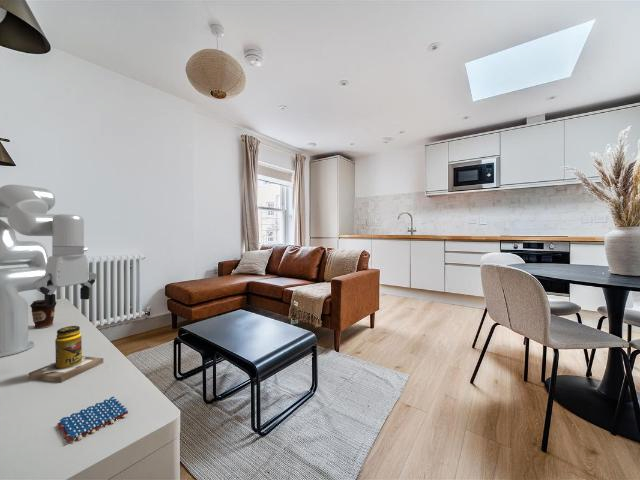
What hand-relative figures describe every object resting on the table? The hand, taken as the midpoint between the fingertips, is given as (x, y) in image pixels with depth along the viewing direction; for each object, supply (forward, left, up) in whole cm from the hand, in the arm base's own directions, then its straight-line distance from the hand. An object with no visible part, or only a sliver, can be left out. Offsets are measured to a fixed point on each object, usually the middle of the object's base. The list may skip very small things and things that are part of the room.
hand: (68, 302), depth 85 cm
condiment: (+3, -3, -20) cm, 20 cm away
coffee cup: (-57, +28, -21) cm, 67 cm away
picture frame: (+3, -2, -21) cm, 22 cm away
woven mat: (+36, -19, -22) cm, 46 cm away
